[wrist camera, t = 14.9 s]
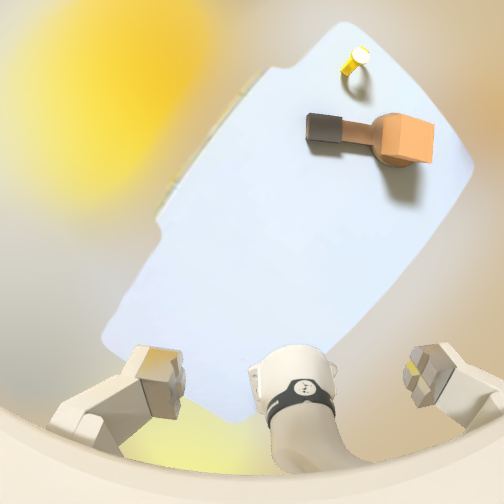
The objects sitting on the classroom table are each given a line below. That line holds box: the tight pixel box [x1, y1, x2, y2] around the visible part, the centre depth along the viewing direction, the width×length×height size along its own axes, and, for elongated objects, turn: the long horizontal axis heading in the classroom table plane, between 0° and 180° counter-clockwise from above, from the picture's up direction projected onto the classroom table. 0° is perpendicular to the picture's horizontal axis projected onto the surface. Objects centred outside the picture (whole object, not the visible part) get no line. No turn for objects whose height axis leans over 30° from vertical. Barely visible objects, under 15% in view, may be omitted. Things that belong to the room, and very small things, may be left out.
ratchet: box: [306, 113, 413, 167], centre depth 38 cm, size 9×20×6 cm, turn 88°
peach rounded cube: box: [381, 114, 434, 163], centre depth 35 cm, size 6×6×6 cm
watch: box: [340, 46, 369, 76], centre depth 33 cm, size 6×3×6 cm, turn 145°
